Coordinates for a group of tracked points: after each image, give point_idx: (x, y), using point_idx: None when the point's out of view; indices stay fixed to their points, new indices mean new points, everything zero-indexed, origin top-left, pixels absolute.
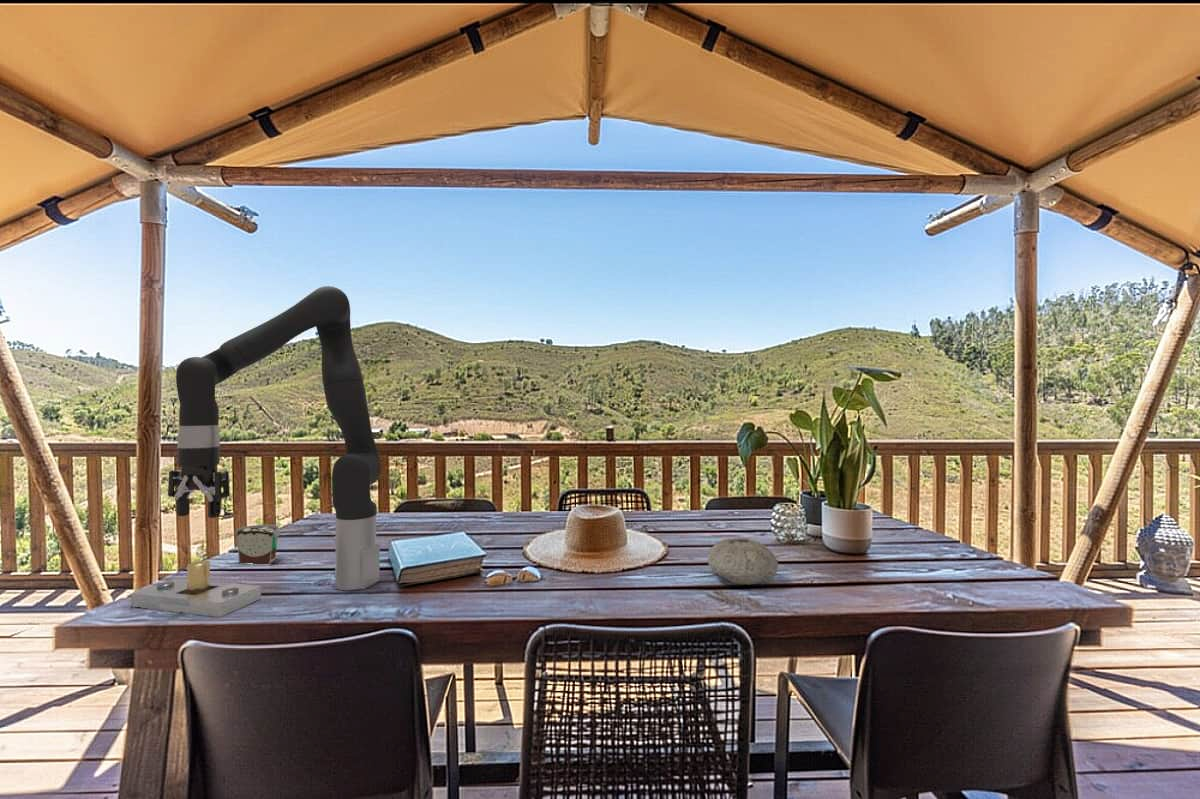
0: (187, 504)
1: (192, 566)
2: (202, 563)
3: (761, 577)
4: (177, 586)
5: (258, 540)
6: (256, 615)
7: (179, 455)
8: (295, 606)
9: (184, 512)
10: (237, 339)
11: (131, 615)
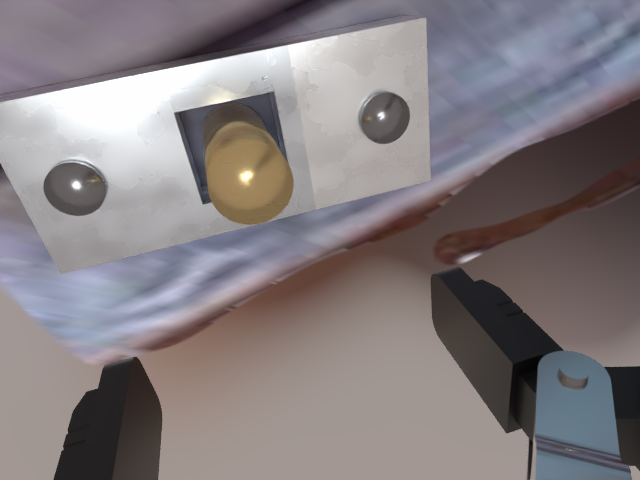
0: (129, 445)
1: (272, 218)
2: (268, 179)
3: None
4: (121, 166)
5: None
6: (496, 113)
7: None
8: (559, 14)
9: (144, 401)
10: None
11: (162, 271)
